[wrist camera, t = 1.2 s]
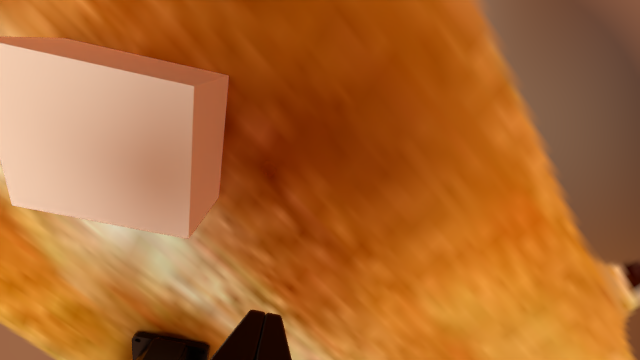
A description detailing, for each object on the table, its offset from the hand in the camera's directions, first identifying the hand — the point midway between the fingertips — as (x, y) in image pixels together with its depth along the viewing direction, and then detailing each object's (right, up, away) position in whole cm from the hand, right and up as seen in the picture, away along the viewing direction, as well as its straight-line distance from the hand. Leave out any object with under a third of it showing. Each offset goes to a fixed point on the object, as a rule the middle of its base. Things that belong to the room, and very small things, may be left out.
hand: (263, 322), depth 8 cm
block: (-9, +7, +10) cm, 16 cm away
